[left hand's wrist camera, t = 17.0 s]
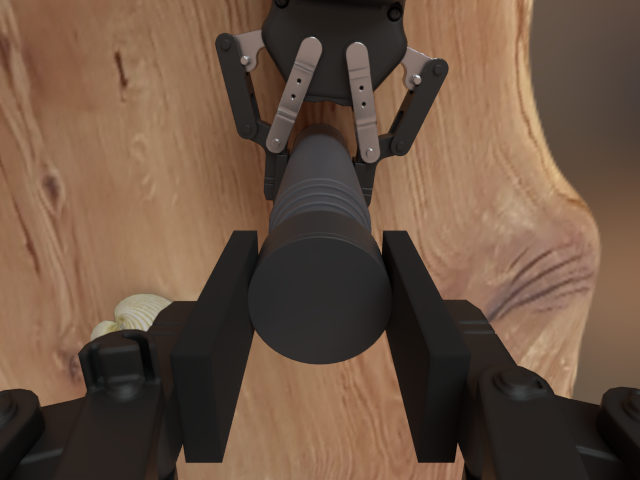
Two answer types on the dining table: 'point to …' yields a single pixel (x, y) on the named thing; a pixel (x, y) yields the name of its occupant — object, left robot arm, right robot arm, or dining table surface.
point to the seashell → (133, 314)
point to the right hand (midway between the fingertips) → (316, 209)
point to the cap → (320, 289)
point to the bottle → (320, 179)
